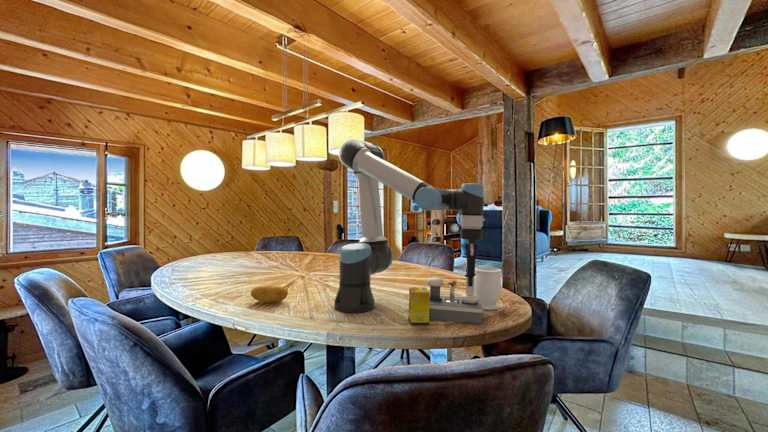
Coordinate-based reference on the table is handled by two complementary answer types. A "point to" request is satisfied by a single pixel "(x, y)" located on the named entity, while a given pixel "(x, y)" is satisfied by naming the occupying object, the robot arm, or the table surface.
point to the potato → (269, 294)
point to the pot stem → (452, 291)
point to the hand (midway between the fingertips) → (469, 294)
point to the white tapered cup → (487, 286)
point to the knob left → (435, 287)
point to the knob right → (469, 299)
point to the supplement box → (419, 305)
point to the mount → (455, 310)
